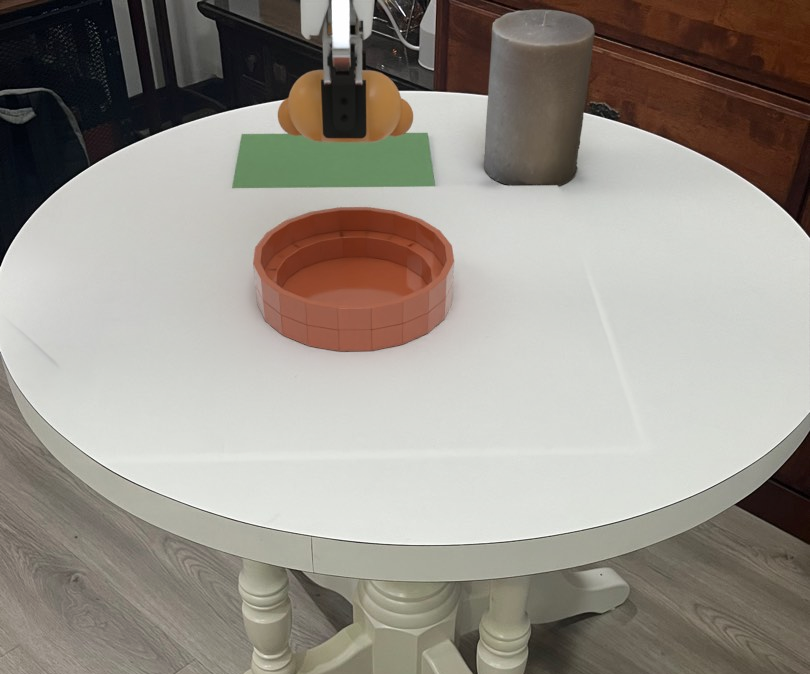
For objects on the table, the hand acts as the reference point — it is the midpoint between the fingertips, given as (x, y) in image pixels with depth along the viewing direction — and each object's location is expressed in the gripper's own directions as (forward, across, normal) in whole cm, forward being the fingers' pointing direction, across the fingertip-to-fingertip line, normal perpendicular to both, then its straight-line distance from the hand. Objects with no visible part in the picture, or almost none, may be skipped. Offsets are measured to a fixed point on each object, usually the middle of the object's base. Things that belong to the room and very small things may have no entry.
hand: (345, 118), depth 75 cm
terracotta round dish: (+15, +2, 0) cm, 15 cm away
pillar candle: (+15, -23, +18) cm, 33 cm away
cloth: (+15, -24, -2) cm, 28 cm away
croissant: (+2, 0, 0) cm, 2 cm away
